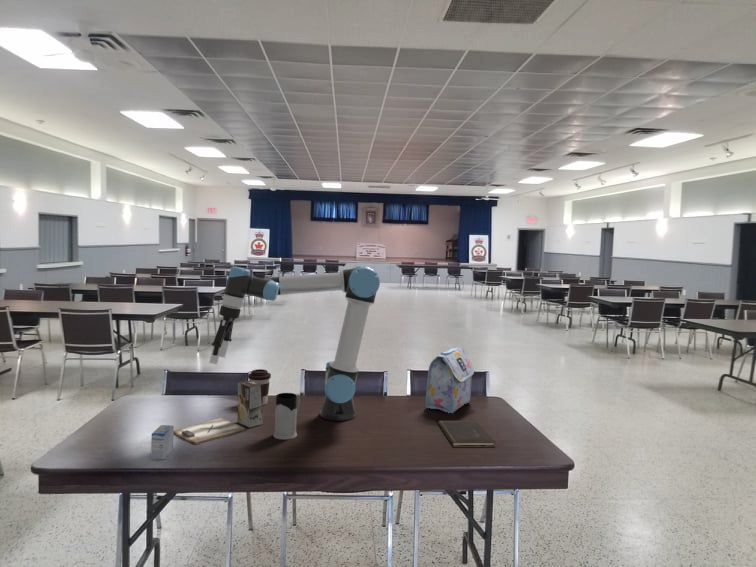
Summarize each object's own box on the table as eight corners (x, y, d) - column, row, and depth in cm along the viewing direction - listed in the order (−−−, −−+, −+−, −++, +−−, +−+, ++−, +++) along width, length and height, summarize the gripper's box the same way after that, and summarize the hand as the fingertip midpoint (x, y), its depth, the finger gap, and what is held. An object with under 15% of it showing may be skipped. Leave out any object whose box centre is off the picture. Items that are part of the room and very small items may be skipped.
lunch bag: (457, 416, 207) (460, 356, 205) (422, 408, 215) (425, 351, 214) (475, 404, 226) (478, 349, 224) (443, 397, 235) (445, 344, 233)
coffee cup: (274, 403, 215) (275, 370, 214) (258, 408, 207) (259, 374, 206) (259, 399, 220) (260, 367, 220) (242, 404, 212) (243, 371, 211)
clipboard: (244, 430, 181) (244, 425, 180) (196, 444, 165) (196, 439, 165) (220, 419, 191) (220, 415, 190) (172, 432, 175) (172, 428, 175)
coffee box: (263, 424, 188) (264, 384, 187) (248, 428, 183) (250, 387, 182) (250, 418, 194) (251, 379, 193) (236, 421, 189) (237, 382, 188)
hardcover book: (475, 426, 197) (476, 420, 197) (495, 448, 174) (495, 441, 174) (438, 426, 195) (438, 420, 195) (452, 448, 172) (452, 441, 172)
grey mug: (268, 437, 174) (269, 396, 174) (288, 425, 188) (289, 387, 187) (289, 441, 172) (290, 400, 171) (308, 428, 185) (309, 390, 184)
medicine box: (159, 450, 159) (160, 424, 159) (173, 450, 160) (174, 424, 159) (150, 460, 151) (151, 433, 151) (165, 460, 152) (165, 433, 151)
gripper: (228, 302, 194) (215, 352, 194) (213, 306, 169) (198, 364, 169) (246, 306, 195) (233, 356, 195) (234, 311, 170) (219, 368, 170)
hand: (217, 360), depth 182 cm, fingers open, 13 cm apart
